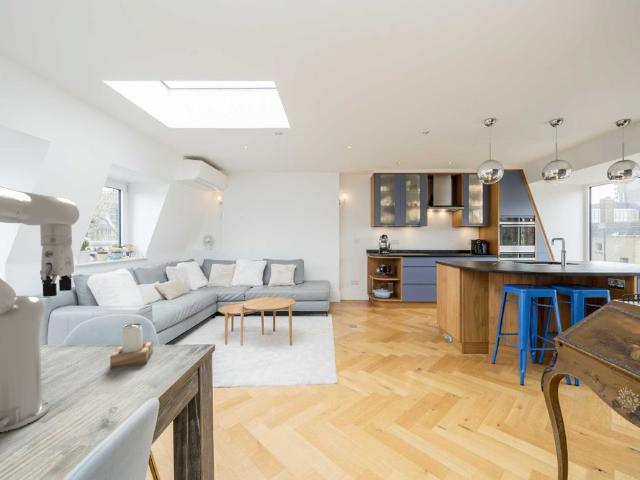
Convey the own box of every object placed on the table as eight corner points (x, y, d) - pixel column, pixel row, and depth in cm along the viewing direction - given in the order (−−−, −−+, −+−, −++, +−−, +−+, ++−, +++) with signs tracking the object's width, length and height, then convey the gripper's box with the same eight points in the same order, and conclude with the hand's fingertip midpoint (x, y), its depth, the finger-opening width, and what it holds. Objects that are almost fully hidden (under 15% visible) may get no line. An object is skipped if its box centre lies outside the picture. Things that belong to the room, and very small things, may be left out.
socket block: (146, 363, 104) (146, 351, 104) (110, 369, 100) (110, 356, 100) (152, 352, 114) (152, 341, 114) (120, 356, 110) (120, 345, 110)
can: (146, 353, 110) (146, 323, 110) (134, 361, 104) (133, 328, 103) (131, 353, 110) (130, 323, 110) (117, 360, 104) (117, 328, 104)
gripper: (57, 241, 86) (58, 297, 86) (82, 240, 102) (83, 288, 103) (25, 242, 84) (26, 299, 84) (56, 241, 100) (57, 289, 100)
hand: (58, 293), depth 93 cm, fingers open, 9 cm apart
